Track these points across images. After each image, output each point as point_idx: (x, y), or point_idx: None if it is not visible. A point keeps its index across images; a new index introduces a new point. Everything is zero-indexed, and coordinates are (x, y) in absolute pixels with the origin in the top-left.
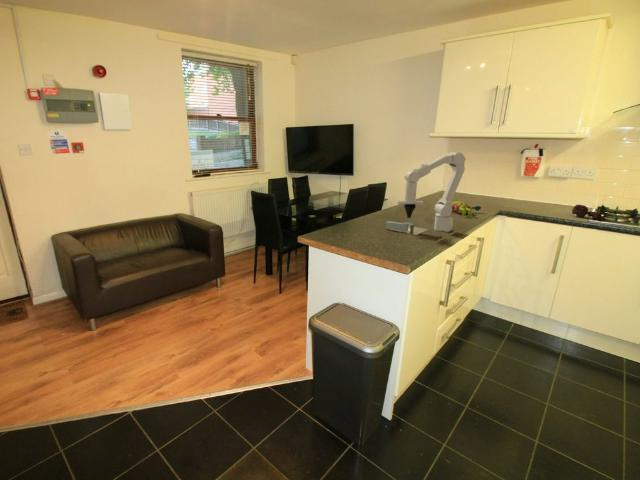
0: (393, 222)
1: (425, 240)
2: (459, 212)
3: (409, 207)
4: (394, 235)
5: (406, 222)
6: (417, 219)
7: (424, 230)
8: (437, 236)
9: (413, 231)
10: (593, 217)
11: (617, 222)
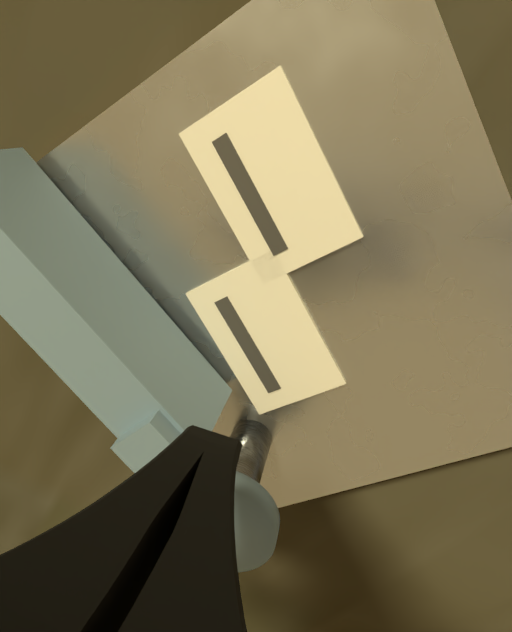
0: (1, 284)
1: (267, 600)
2: None
3: None
4: (58, 376)
5: (167, 441)
6: None
7: (488, 439)
8: (485, 588)
9: (305, 411)
10: None
11: None
